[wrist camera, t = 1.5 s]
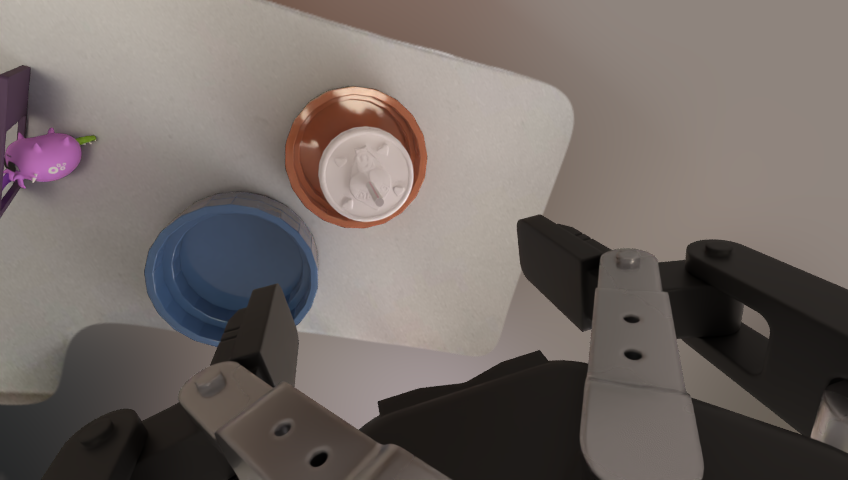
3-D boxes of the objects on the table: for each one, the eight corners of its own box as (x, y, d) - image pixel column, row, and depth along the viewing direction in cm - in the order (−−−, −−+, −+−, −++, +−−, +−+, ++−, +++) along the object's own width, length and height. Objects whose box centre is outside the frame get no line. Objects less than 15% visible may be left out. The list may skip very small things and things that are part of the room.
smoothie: (330, 198, 36) (338, 258, 23) (307, 127, 33) (302, 151, 21) (397, 179, 37) (440, 228, 24) (380, 109, 34) (418, 122, 22)
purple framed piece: (-21, 69, 22) (-28, 218, 25) (99, 100, 25) (83, 228, 28) (8, 60, 27) (-1, 184, 29) (105, 87, 30) (90, 197, 33)
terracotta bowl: (310, 227, 37) (309, 242, 33) (270, 101, 32) (264, 103, 29) (425, 198, 39) (436, 209, 35) (402, 75, 34) (412, 73, 31)
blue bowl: (200, 337, 38) (186, 367, 34) (137, 211, 33) (111, 229, 29) (333, 298, 40) (335, 323, 36) (293, 174, 35) (290, 186, 31)
